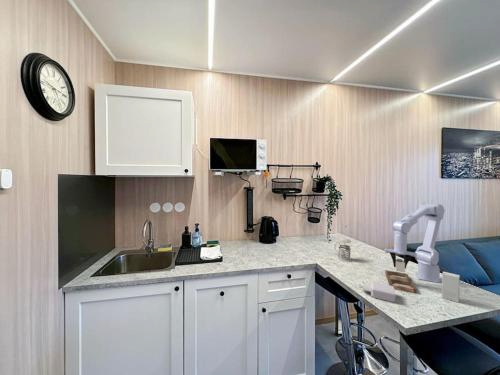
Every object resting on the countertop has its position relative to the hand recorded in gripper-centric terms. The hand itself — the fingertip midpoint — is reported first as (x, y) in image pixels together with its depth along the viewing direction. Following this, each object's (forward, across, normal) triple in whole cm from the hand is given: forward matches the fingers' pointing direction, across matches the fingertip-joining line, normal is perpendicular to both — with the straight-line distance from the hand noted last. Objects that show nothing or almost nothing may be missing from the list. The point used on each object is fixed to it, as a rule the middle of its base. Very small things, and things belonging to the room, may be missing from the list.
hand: (399, 267), depth 118 cm
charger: (+9, -13, -21) cm, 26 cm away
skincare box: (+9, +19, -9) cm, 23 cm away
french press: (+9, -30, +24) cm, 39 cm away
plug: (+2, 0, 0) cm, 2 cm away
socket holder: (+8, 0, 0) cm, 9 cm away
